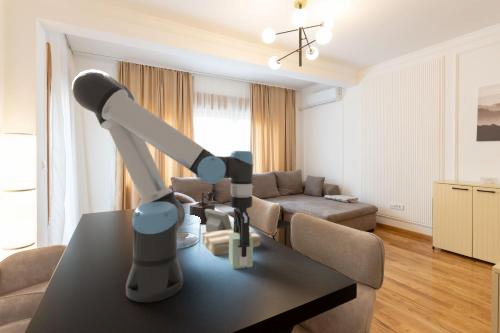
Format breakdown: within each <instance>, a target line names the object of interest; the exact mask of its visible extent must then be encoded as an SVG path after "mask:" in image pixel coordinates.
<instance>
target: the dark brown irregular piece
mask: <svg viewBox="0 0 500 333" xmlns="http://www.w3.org/2000/svg"><path fill="white" fill-rule="evenodd" d="M200 196H201V201H199V202H197V203H195V204H191V205H189V216H190V215H195V216H198V217H200V219H201V224H200V225H206V222H207V218H206V215H205V209H211V210H215V209H216V208H215V207H216V205H215V204H213V203H212V204H211V203H208V202H212V201H213V198H214V196H215V193H214V192H213V191H208V192H207V193H206V195H205V192H204V191H203V192H201V195H200ZM204 198H205V199H206V201H208V202H206V201H204Z"/></svg>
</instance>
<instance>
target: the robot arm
mask: <svg viewBox="0 0 500 333" xmlns="http://www.w3.org/2000/svg"><path fill="white" fill-rule="evenodd" d="M71 89H72V90H71V91H72V95H73V97H74V99H75V101H76V102H77V103H78V104H79V105H80V106H81V107H82V108H84V109H86V110H87V111H90V112H92V113H94V115H95V116H96V118H97V121H98V123H99V125H100V127H101V128H102V129H105V130H107V131H108V132H109V134H110V136H111V138H112V140H113V142H114V144H115V147H116V148H117V151H118V152H119V155H120V157H121V159H122V162H123V165H124V166H125V168H126V170H127V172H128V174H129V176H130V178H131V180H132V182H133V185H134V186H135V189H136V191H137V193H138V196H139V198H140V201H139V202H138V204H137V207H136V208H135V209H134V210H133V213H132V219H131V225H132V265H131V268H130V271H129V274H128V276H127V280H126V283H125V296H126V297H127V299H129V300H131V301H133V302H136V303H153V302H154V303H155V302H159V301H163V300H166V299H169V298H171V297H173V296H174V295H176V294H178V293H179V292H180V291H181V290H182V288H183V285H184V275H183V272H182V269H181V266H180V263H179V260H178V233H179V231H180V229H181V227H182V226H183V224H184V221H185V217H186V214H185V209H184V208H185V207H184V206H183V204H182V203H181V202H180V201H179V200H178V199H177V197H176V195H175V193H174V192H175V191H174V190H173V189H170V188H168V187H166V184H165V182H164V180H163V177H162V175H161V173H160V170H159V169H158V166H157V165H156V162H155V160H154V158H153V156H152V153H151V151H150V148H149V147H148V145H147V144H149V145H150V146H152V147H153V148H155V149H157V150H158V151H160V152H161V153H163V154H164V155H165V156H167V157H169V158H170V159H172V160H173V161H174V162H176V163H177V164H180V165H181V166H182V167H184V168H186V169H187V170H188V171H190V172H191V173H192V174H194V176H195V177H196V178H197V179H200V180H201V181H202V182H204V183H206V184H211V185H213V184H217V183H219V182H220V181H221V180H223V179H230V207H231V208H233V229H234V230H233V233H237V232H239V235H240V246H238V248H239V266H245V265H247V249H248V247H249V246H250V244H249V230H250V221H251V219H250V216H249V212H247V211H248V210H247V209H250V208H252V207H253V196H252V195H253V189H254V187H255V186H254V185H253V180H254V179H253V174H254V158H253V157H254V156H253V153H252V151H249V150H232V151H231V153H230V155H229V156H219V155H218V156H217V155H214V154H213V153H212V152H210V150H209V151H208V150H207V149H205V148H204V147H203V146H201V145H200V144H199V143H198V142H195V141H194V140H193V139H191V138H189V137H188V136H187V135H185V134H183V133H182V132H181V131H179V130H178V129H177V128H176V127H175V128H174V126H172V125H171V124H168V123H167V122H166V121H165V120H163V119H162V118H160V117H159V116H157V115H155V114H154V113H152V112H151V111H150V110H148V109H147V108H145V107H144V106H142V105H141V104H140V103H138V102H137V101H136V100H135V98H134V96H133V94H132V92H131V91H130V90H129V88H127V87H126V85H124V84H122V83H121V82H119V81H118V80H116V79H115V78H113V76H111V75H110V74H108V73H106V72H104V71H101V70H96V69H87V70H84V71H82V72H80V73H78V75H77V76H75V78H74V80H73V81H72V86H71Z"/></svg>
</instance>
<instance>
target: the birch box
mask: <svg viewBox="0 0 500 333" xmlns="http://www.w3.org/2000/svg"><path fill="white" fill-rule="evenodd" d="M233 230H234V228H232V229H228V230H221V231H213V232H206V231H205V232H202V233H201V235H202V245H203V246H204V247H205V248H206V249H207V250H208V252H210V253H211V254H212V255H213V256H219V255H220V256H221V255H225V254H226V255H227V254H229V233H233ZM249 234H250V235H251V236H252V237H253V249H255V248H254V247H257V246H261V235H259V234H257V233H256V232H254V231H252V230H251V229H249Z"/></svg>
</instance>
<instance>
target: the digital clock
mask: <svg viewBox="0 0 500 333" xmlns="http://www.w3.org/2000/svg"><path fill="white" fill-rule="evenodd" d="M205 215H206V218H207V222H206V224H205V233H206V232H213V231H221V230H228V229H233V227H232V222H231V220H230V216H229V213H228V212H223V211H220V210H211V209H205Z"/></svg>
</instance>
